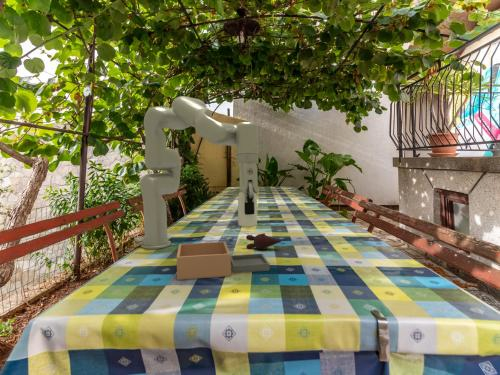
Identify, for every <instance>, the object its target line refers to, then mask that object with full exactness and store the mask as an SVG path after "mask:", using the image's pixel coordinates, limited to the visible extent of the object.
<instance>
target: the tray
mask: <svg viewBox="0 0 500 375" xmlns="http://www.w3.org/2000/svg"><path fill="white" fill-rule="evenodd" d="M270 270H271V266H270V262H269V261H268V259H267V258H266V257H265V256H264V254H263V253H250V254H235V255H233V254H232V255H231V271H232V272H233V274H238V273H252V272H254V273H255V272H266V271H270Z"/></svg>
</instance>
